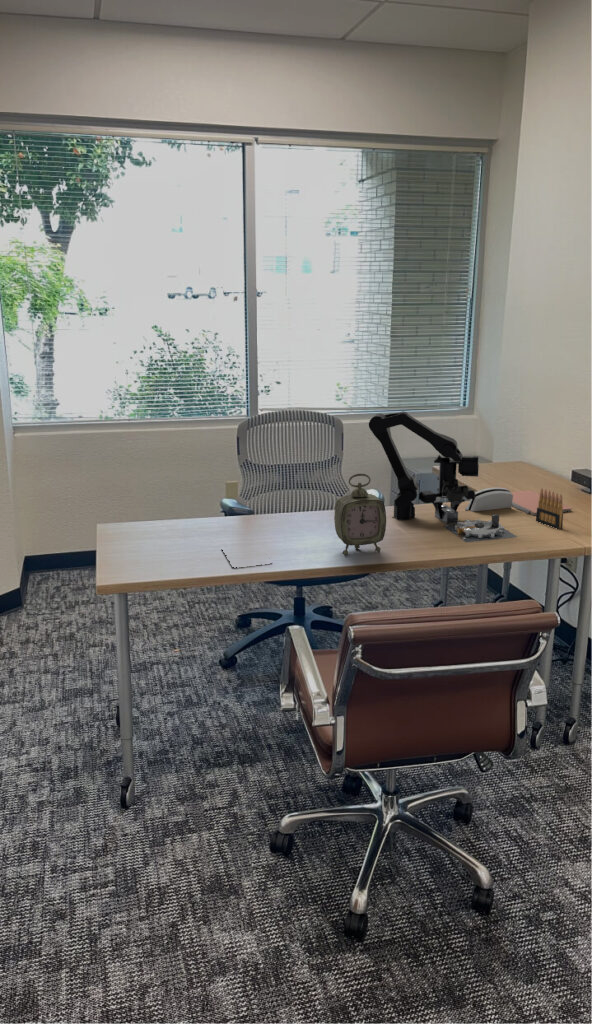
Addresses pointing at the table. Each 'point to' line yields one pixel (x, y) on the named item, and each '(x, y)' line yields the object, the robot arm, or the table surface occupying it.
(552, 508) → the ammunition clip
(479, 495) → the grey half-round block
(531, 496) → the notebook
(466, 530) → the sprocket wheel
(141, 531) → the table surface
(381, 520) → the tabletop clock
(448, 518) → the chain link
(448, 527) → the base plate
